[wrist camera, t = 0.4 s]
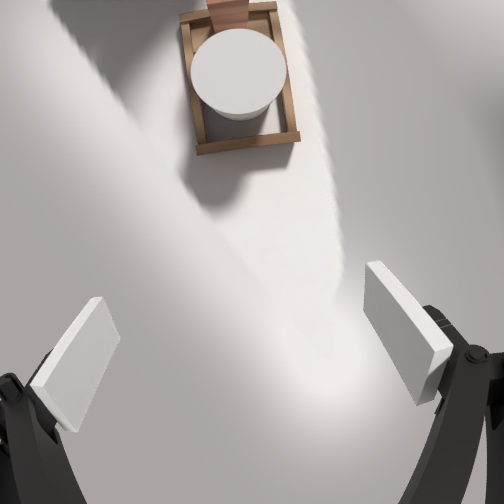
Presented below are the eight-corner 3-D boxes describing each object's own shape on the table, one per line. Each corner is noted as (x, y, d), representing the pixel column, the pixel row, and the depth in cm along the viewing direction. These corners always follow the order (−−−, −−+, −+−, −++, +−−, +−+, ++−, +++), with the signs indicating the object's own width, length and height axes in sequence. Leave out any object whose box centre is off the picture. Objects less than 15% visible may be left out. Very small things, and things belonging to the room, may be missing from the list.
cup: (223, 131, 35) (214, 129, 24) (196, 76, 32) (176, 52, 21) (283, 105, 34) (301, 93, 23) (257, 50, 31) (262, 16, 20)
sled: (182, 19, 29) (157, -23, 17) (274, 6, 28) (287, -41, 17) (201, 154, 36) (180, 163, 24) (296, 140, 35) (320, 144, 24)
